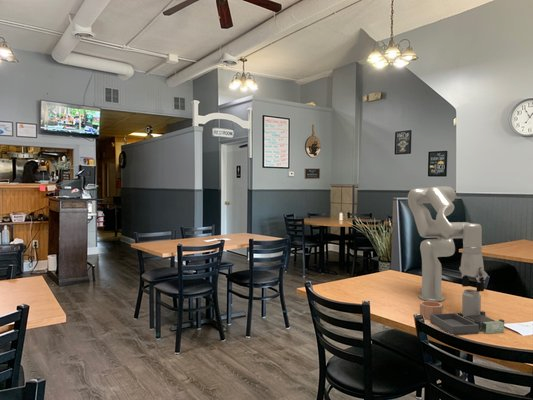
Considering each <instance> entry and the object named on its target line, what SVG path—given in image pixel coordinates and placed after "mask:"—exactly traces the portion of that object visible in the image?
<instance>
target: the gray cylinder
mask: <svg viewBox="0 0 533 400" xmlns="http://www.w3.org/2000/svg"><path fill="white" fill-rule="evenodd" d="M461 297H462V304H461V311H462V312H461V313H463V317H464V316H470V315H480V311H482V308H481V307H482V305H481V304H482V295H481V294H480V292H478V291H477V289H464V290H463V292H462V295H461Z"/></svg>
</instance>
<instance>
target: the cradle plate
mask: <svg viewBox="0 0 533 400" xmlns="http://www.w3.org/2000/svg"><path fill="white" fill-rule="evenodd" d="M463 317H464V318H466V319H468V320H470V321H472V322H474V323H475V321H479V322H480V328H482V322H489V321H496V320H494V319H493V318H491V317H488V316H486V315H485V316H484V315H470V316H464V315H463Z"/></svg>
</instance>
